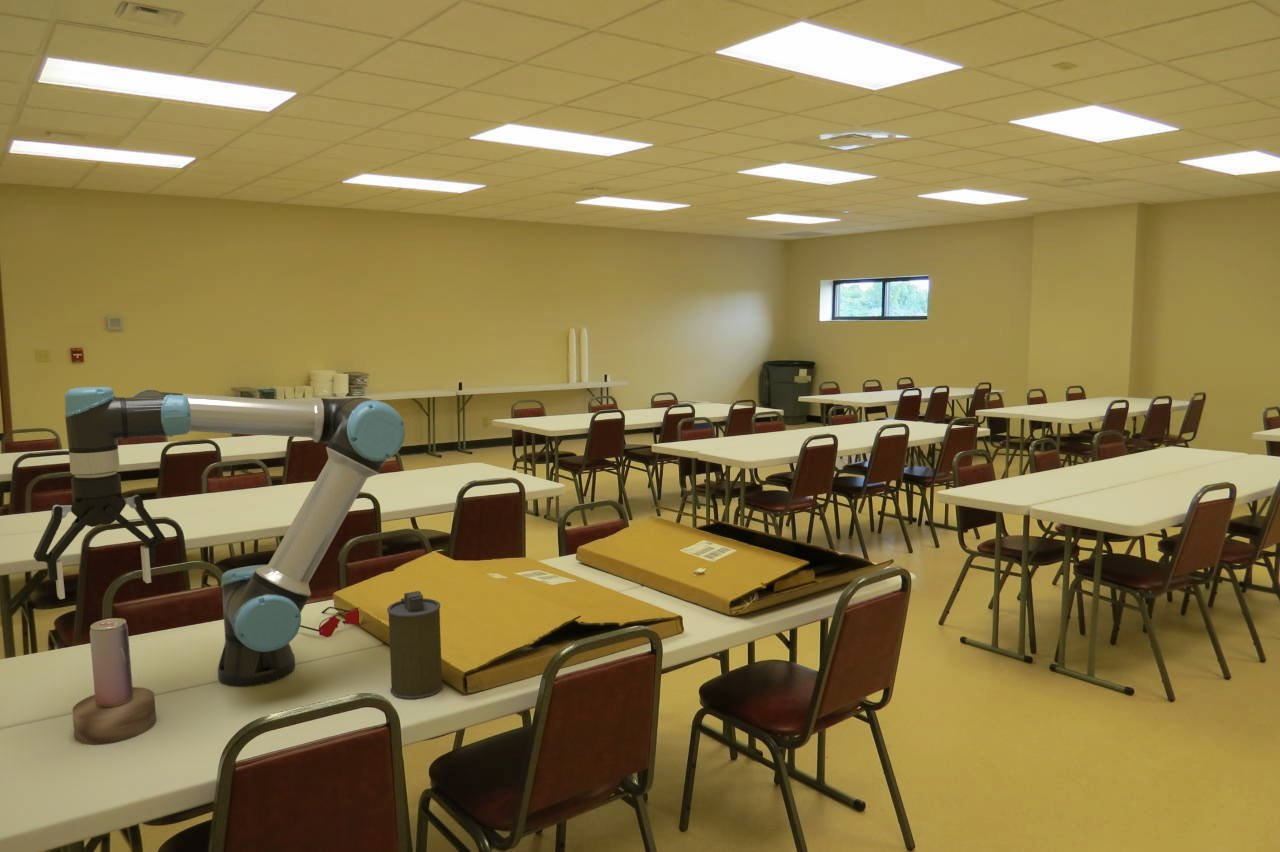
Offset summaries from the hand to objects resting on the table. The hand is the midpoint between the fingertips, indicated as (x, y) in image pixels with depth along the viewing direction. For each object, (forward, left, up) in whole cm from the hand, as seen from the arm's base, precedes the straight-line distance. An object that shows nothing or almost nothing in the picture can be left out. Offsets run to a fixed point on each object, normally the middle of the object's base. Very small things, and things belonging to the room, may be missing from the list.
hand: (105, 589), depth 159 cm
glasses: (-12, -56, -27) cm, 63 cm away
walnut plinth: (0, 0, -26) cm, 26 cm away
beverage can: (0, 0, -22) cm, 22 cm away
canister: (-49, -23, -27) cm, 60 cm away
